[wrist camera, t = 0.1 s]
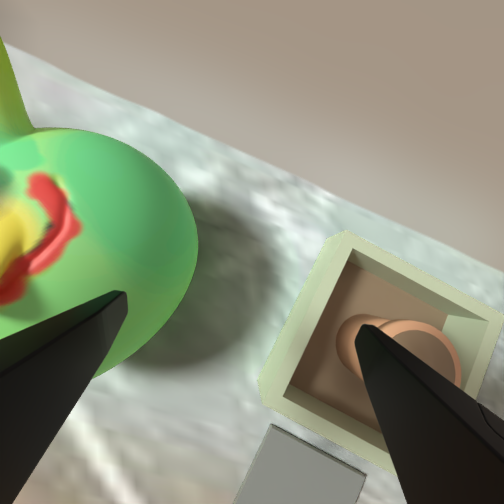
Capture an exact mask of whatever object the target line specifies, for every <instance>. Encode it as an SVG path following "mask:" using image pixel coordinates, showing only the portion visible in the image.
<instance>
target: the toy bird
mask: <svg viewBox="0 0 504 504" xmlns="http://www.w3.org/2000/svg"><path fill="white" fill-rule="evenodd" d="M197 256H198V235H197V228H196V224H195V220H194V217H193V214H192V211H191V209H190V206H189V204H188V202H187V200H186V198H185V197H184V195H183V193H182V192H181V190H180V189H179V187H178V186H177V185H176V183H175V182H174V181H173V180H172V179H171V177H170V176H169V175H168V174H167V173H166V172H165V171H164V170H163V169H162V168H161V167H160V166H159V165H157V164H156V163H155V162H154V161H153V160H151V159H150V158H149V157H147V156H146V155H144V154H143V153H141V152H140V151H138V150H136V149H135V148H133V147H131V146H129V145H127V144H125V143H123V142H121V141H118V140H116V139H113V138H111V137H108V136H105V135H101V134H98V133H94V132H89V131H84V130H78V129H70V128H34V127H33V126H32V124H31V122H30V120H29V117H28V115H27V112H26V109H25V106H24V103H23V100H22V97H21V94H20V91H19V87H18V84H17V81H16V78H15V75H14V72H13V69H12V65H11V63H10V60H9V57H8V54H7V51H6V49H5V46H4V44H3V41H2V39H1V37H0V339H2V338H4V337H7V336H9V335H11V334H14V333H16V332H18V331H21V330H23V329H25V328H27V327H30V326H32V325H34V324H37V323H39V322H41V321H44V320H46V319H48V318H51V317H53V316H55V315H57V314H60V313H62V312H64V311H67V310H69V309H71V308H74V307H76V306H78V305H80V304H83V303H85V302H87V301H90V300H92V299H94V298H97V297H99V296H101V295H103V294H106V293H108V292H110V291H113V290H119V291H125V292H126V293H127V301H128V314H127V316H126V318H125V320H124V322H123V324H122V326H121V328H120V330H119V332H118V334H117V336H116V338H115V340H114V342H113V344H112V346H111V348H110V350H109V352H108V354H107V356H106V357H105V359H104V360H103V362H102V364H101V365H100V367H99V368H98V370H97V371H96V373H95V375H94V376H93V378H95V377H97V376H99V375H101V374H103V373H104V372H106V371H108V370H110V369H111V368H113V367H115V366H116V365H118V364H119V363H121V362H122V361H124V360H125V359H126V358H128V357H129V356H131V355H132V354H133V353H134V352H136V351H137V350H138V349H139V348H141V347H142V346H143V345H144V344H145V343H146V342H148V341H149V340H150V339H151V338H152V337H153V336H154V335H155V334H156V333H157V332H158V331H159V330H160V329H161V327H162V326H163V325H164V324H165V323H166V322H167V320H168V319H169V318H170V317H171V315H172V314H173V313H174V311H175V310H176V308H177V307H178V305H179V304H180V302H181V300H182V299H183V297H184V295H185V293H186V291H187V289H188V287H189V285H190V282H191V280H192V277H193V274H194V270H195V267H196V262H197ZM93 378H92V379H93Z"/></svg>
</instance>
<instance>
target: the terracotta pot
mask: <svg viewBox="0 0 504 504" xmlns="http://www.w3.org/2000/svg"><path fill="white" fill-rule="evenodd" d="M362 324H371V325H375V326H376V327H377V328H379V329H380V330H382V331H383V332H384V333H386V334H387V335H388V336H390V337H391V338H392V339H394V340H395V341H396V342H398V343H399V344H400V345H402V346H403V347H404V348H406V349H407V350H409V351H410V352H411V353H413V354H414V355H415V356H417V357H418V358H419V359H421V360H422V361H423V362H425V363H426V364H427V365H429V366H430V367H431V368H433V369H434V370H436V371H437V372H438V373H440V374H441V375H442V376H444V377H445V378H446V379H448V380H449V381H450V382H452V383H453V384H454V385H456V386H457V387H458V388H460V384H461V365H460V361H459V357H458V354H457V352H456V350H455V348H454V346H453V344H452V343H451V342H450V340H449V339H448V338H447V337H446V336H445V335H444V334H443V333H442V332H441V331H439V330H438V329H437V328H435V327H433V326H431V325H429V324H426V323H422V322H418V321H413V320H409V319H394V320H389V319H385V318H382V317H378V316H374V315H370V314H357V315H354V316H351V317H349V318H348V319H347V320H345V321H344V322H343V324H342V325H341V326H340V328H339V330H338V332H337V336H336V351H337V354H338V357H339V359H340V361H341V362H342V364H343V365H344V366H345V367H346V368H347V369H348V370H350V371H351V372H352V373H353V374H354V375H356V376H357V377H358V378H359V379H361V380H362V381H363V382H364V380H363V377H362V373H361V369H360V365H359V361H358V357H357V353H356V349H355V344H354V341H355V337H356V335H357V333H358V331H359V329H360V327H361V325H362Z"/></svg>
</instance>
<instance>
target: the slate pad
mask: <svg viewBox="0 0 504 504" xmlns="http://www.w3.org/2000/svg"><path fill="white" fill-rule="evenodd" d="M364 480H365V477H364V475H363V474H362V472H360V471H358V470H356V469H354V468H352V467H350V466H349V465H347V464H345V463H343V462H341V461H339V460H337V459H336V458H334V457H332V456H330V455H328V454H326V453H324V452H323V451H321V450H319V449H317V448H315V447H313V446H311V445H310V444H308V443H306V442H304V441H302V440H300V439H298V438H296V437H295V436H293V435H291V434H289V433H287V432H285V431H283V430H282V429H280V428H278V427H276V426H274V425H272V424H270V426H269V428H268V430H267V433H266V435H265V437H264V439H263V441H262V443H261V445H260V447H259V449H258V452H257V454H256V456H255V458H254V460H253V462H252V464H251V466H250V469H249V471H248V473H247V475H246V477H245V479H244V481H243V483H242V485H241V488H240V490H239V492H238V494H237V496H236V498H235V500H234V502H233V504H355V502H356V500H357V497H358V495H359V492H360V490H361V487H362V485H363V482H364Z"/></svg>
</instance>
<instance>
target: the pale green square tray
mask: <svg viewBox="0 0 504 504" xmlns="http://www.w3.org/2000/svg"><path fill="white" fill-rule="evenodd" d="M357 314H370V315H374V316H378V317H382V318H385V319H389V320H394V319H409V320H413V321H418V322H422V323H426V324H429V325H431V326H433V327H435V328H437V329H438V330H439V331H441V332H442V333H443V334H444V335H445V336H446V337H447V338H448V339H449V340H450V342H451V343H452V344H453V346H454V348H455V350H456V352H457V354H458V357H459V361H460V365H461V384H460V389H461V390H463V391H464V392H465V393H467V394H468V395H469V396H471V397H472V398H473V399H475V400H476V398H477V395H478V393H479V390H480V387H481V384H482V381H483V379H484V376H485V373H486V370H487V367H488V364H489V362H490V359H491V356H492V353H493V350H494V348H495V345H496V342H497V339H498V336H499V334H500V331H501V328H502V325H503V322H504V314H502V313H500V312H498V311H496V310H494V309H493V308H491V307H489V306H487V305H485V304H483V303H481V302H480V301H478V300H476V299H474V298H472V297H470V296H468V295H467V294H465V293H463V292H461V291H459V290H457V289H455V288H454V287H452V286H450V285H448V284H446V283H444V282H442V281H441V280H439V279H437V278H435V277H433V276H431V275H429V274H428V273H426V272H424V271H422V270H420V269H418V268H416V267H415V266H413V265H411V264H409V263H407V262H405V261H404V260H402V259H400V258H398V257H396V256H394V255H392V254H391V253H389V252H387V251H385V250H383V249H381V248H379V247H378V246H376V245H374V244H372V243H370V242H368V241H366V240H365V239H363V238H361V237H359V236H357V235H355V234H353V233H352V232H350V231H348V230H345V231H342V232H340V233H338V234H336V235H334V236H331V237H329V238H327V239H326V241H325V243H324V245H323V247H322V249H321V251H320V253H319V255H318V257H317V259H316V261H315V263H314V265H313V268H312V270H311V272H310V274H309V276H308V278H307V280H306V282H305V284H304V286H303V288H302V290H301V292H300V294H299V296H298V298H297V300H296V302H295V304H294V306H293V308H292V310H291V312H290V314H289V316H288V318H287V320H286V322H285V324H284V326H283V328H282V330H281V332H280V334H279V336H278V338H277V341H276V343H275V345H274V347H273V349H272V351H271V353H270V355H269V357H268V359H267V361H266V363H265V365H264V367H263V369H262V371H261V373H260V375H259V377H258V379H257V381H258V386H259V391H260V396H261V401H262V404H263V405H265V406H267V407H269V408H271V409H273V410H274V411H276V412H278V413H280V414H282V415H284V416H286V417H287V418H289V419H291V420H293V421H295V422H297V423H299V424H300V425H302V426H304V427H306V428H308V429H310V430H312V431H313V432H315V433H317V434H319V435H321V436H323V437H325V438H326V439H328V440H330V441H332V442H334V443H336V444H338V445H339V446H341V447H343V448H345V449H347V450H349V451H351V452H352V453H354V454H356V455H358V456H360V457H362V458H364V459H366V460H367V461H369V462H371V463H373V464H375V465H377V466H379V467H380V468H382V469H384V470H386V471H388V472H390V473H392V474H393V475H395V476H397V474H396V471H395V468H394V465H393V462H392V460H391V457H390V454H389V451H388V449H387V446H386V443H385V440H384V437H383V435H382V432H381V429H380V426H379V423H378V421H377V418H376V415H375V412H374V409H373V407H372V404H371V401H370V398H369V396H368V393H367V390H366V387H365V384H364V382H363V381H362V380H361V379H359V378H358V377H357V376H356V375H354V374H353V373H352V372H351V371H350V370H348V369H347V368H346V367H345V366H344V365H343V364H342V362H341V361H340V359H339V357H338V354H337V351H336V336H337V332H338V330H339V328H340V326H341V325H342V324H343V322H344V321H345V320H347V319H348V318H349V317H351V316H354V315H357ZM397 477H398V476H397Z"/></svg>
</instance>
